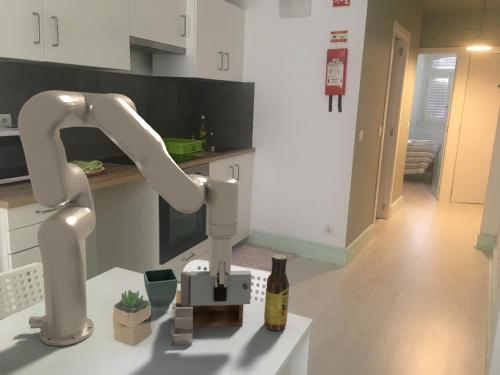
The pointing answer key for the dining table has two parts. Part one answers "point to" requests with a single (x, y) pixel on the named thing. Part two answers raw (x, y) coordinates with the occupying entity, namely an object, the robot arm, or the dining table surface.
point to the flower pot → (160, 286)
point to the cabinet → (214, 314)
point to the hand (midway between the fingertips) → (219, 297)
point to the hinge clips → (181, 325)
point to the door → (202, 288)
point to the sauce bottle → (277, 295)
